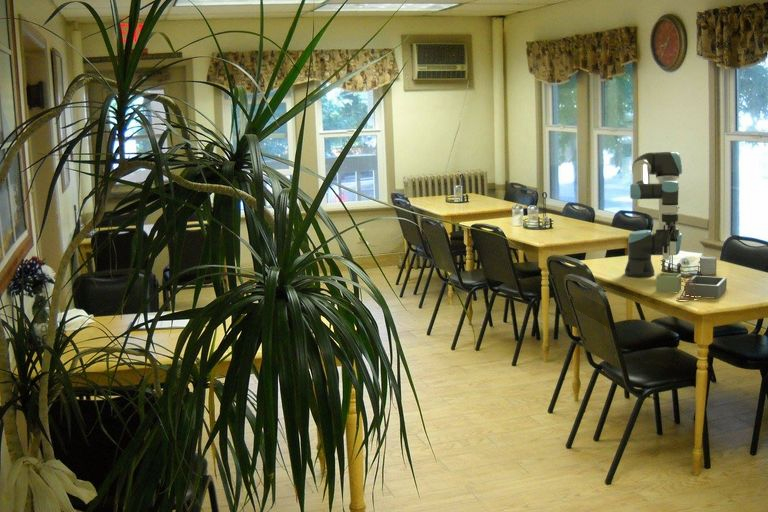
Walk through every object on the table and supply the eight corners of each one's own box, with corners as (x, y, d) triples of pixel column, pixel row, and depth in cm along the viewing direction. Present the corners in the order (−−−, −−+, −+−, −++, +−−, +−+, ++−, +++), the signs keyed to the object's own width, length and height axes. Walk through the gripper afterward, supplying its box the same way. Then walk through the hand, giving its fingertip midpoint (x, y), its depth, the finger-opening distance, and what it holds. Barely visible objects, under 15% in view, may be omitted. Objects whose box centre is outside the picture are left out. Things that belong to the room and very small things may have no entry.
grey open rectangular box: (684, 296, 421) (685, 283, 420) (694, 287, 437) (694, 275, 436) (718, 298, 413) (718, 285, 412) (726, 289, 430) (726, 277, 429)
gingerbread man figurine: (694, 298, 415) (695, 273, 413) (698, 300, 412) (698, 274, 410) (676, 299, 415) (676, 274, 413) (679, 301, 411) (680, 275, 409)
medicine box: (714, 273, 469) (714, 256, 467) (716, 274, 465) (716, 258, 463) (698, 273, 470) (699, 257, 468) (700, 275, 465) (701, 258, 464)
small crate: (656, 292, 432) (656, 275, 431) (660, 288, 439) (660, 272, 438) (677, 293, 427) (677, 277, 426) (681, 290, 434) (681, 273, 432)
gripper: (671, 217, 414) (671, 262, 417) (683, 210, 435) (683, 253, 438) (655, 216, 418) (654, 261, 421) (668, 210, 439) (667, 252, 442)
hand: (669, 257), depth 430 cm, fingers open, 13 cm apart
